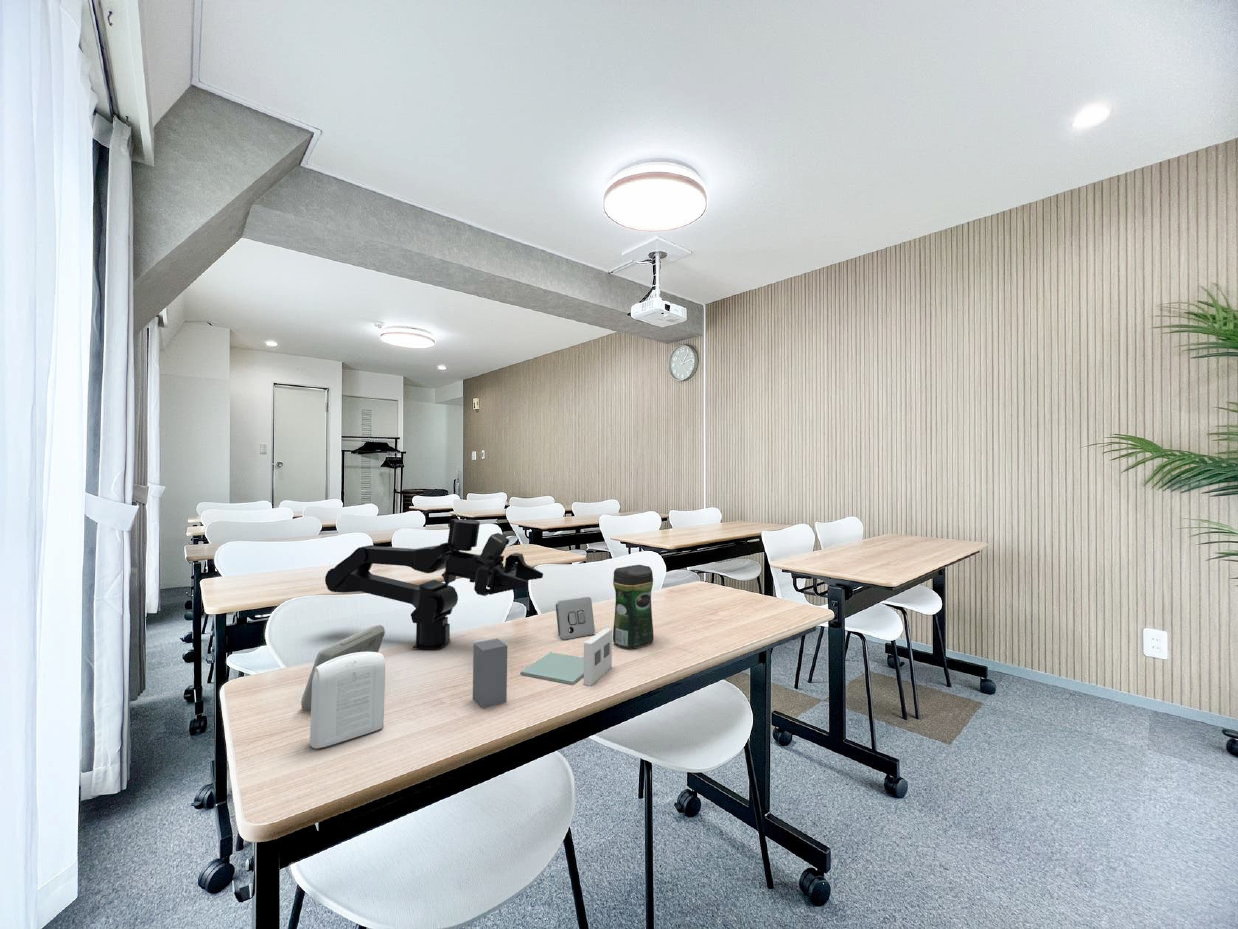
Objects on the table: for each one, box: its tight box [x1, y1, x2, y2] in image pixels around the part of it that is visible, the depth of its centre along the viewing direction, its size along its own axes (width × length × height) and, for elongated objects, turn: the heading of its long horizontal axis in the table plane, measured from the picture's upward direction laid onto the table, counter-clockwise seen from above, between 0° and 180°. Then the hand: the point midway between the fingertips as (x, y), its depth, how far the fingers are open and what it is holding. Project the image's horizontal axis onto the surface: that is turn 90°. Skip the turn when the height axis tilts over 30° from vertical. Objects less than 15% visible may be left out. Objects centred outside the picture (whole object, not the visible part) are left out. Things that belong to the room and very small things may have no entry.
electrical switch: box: [555, 596, 596, 641], centre depth 126 cm, size 9×5×9 cm, turn 121°
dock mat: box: [519, 651, 584, 686], centre depth 104 cm, size 12×12×1 cm
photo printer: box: [309, 651, 386, 750], centre depth 77 cm, size 10×4×12 cm, turn 134°
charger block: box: [472, 638, 508, 710], centre depth 89 cm, size 5×4×10 cm
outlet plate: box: [583, 627, 613, 687], centre depth 101 cm, size 2×10×8 cm, turn 157°
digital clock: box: [300, 624, 386, 711], centre depth 91 cm, size 16×9×11 cm, turn 158°
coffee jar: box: [612, 564, 654, 649], centre depth 120 cm, size 10×8×19 cm
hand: (535, 579), depth 112 cm, fingers open, 9 cm apart
